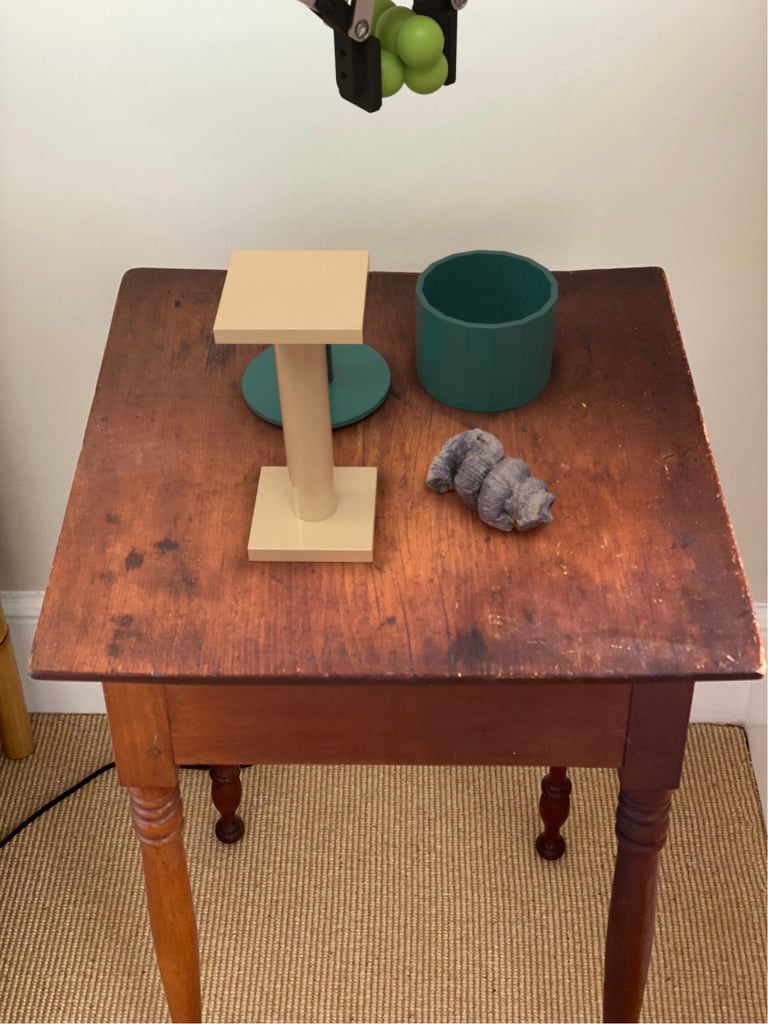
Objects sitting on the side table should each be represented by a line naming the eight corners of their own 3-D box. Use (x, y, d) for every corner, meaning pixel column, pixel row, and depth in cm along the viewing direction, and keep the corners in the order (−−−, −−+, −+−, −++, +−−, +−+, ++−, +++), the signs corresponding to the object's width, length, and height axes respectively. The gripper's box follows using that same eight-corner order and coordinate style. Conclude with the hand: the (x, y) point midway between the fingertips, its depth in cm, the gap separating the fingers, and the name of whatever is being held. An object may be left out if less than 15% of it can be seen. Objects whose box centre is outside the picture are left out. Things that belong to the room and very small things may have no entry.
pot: (577, 376, 86) (587, 292, 81) (475, 430, 82) (478, 345, 77) (489, 317, 92) (493, 235, 87) (390, 364, 88) (387, 281, 83)
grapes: (464, 96, 63) (466, 13, 60) (399, 121, 61) (397, 36, 58) (395, 62, 66) (394, -18, 63) (332, 84, 65) (327, 3, 61)
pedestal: (378, 479, 78) (369, 249, 66) (372, 563, 73) (362, 328, 60) (262, 478, 79) (232, 250, 66) (248, 561, 73) (212, 328, 60)
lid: (421, 396, 85) (420, 321, 80) (297, 457, 80) (289, 382, 76) (334, 329, 91) (330, 257, 87) (215, 382, 87) (203, 308, 82)
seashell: (432, 489, 79) (545, 562, 74) (400, 467, 75) (518, 544, 70) (474, 425, 79) (589, 494, 74) (444, 399, 74) (566, 471, 70)
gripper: (283, -267, 45) (313, 160, 58) (585, -319, 53) (553, 71, 65) (187, -291, 50) (234, 111, 62) (478, -336, 57) (467, 32, 70)
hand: (397, 87), depth 64 cm, fingers closed on grapes, 4 cm apart
